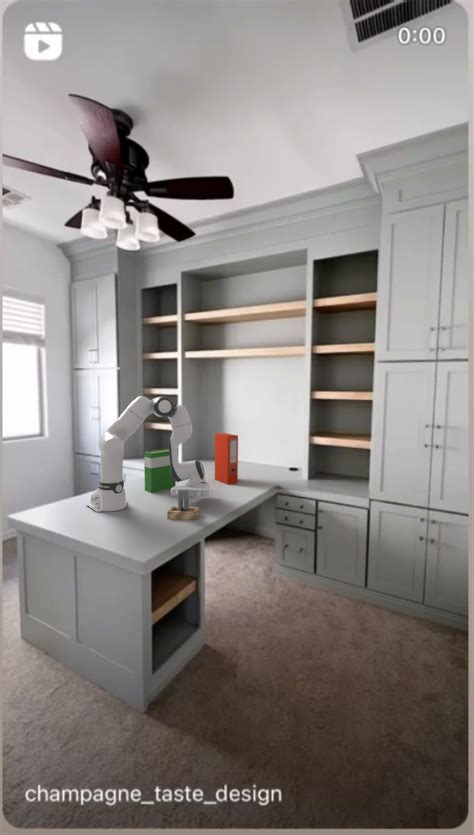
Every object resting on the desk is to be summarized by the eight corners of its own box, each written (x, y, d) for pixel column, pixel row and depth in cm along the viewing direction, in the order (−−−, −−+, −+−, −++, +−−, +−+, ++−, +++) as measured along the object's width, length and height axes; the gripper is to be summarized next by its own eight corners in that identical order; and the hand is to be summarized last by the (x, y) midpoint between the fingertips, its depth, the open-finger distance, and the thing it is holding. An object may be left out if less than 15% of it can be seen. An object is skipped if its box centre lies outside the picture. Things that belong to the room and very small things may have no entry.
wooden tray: (167, 518, 178) (167, 511, 178) (172, 513, 186) (171, 506, 186) (196, 519, 177) (196, 512, 176) (199, 514, 185) (199, 507, 184)
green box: (168, 485, 240) (168, 448, 238) (175, 487, 235) (175, 450, 233) (144, 490, 228) (144, 451, 226) (151, 492, 223) (150, 453, 221)
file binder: (224, 477, 261) (224, 432, 259) (237, 483, 246) (238, 435, 244) (214, 479, 257) (214, 433, 254) (227, 484, 242) (227, 436, 240)
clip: (178, 515, 180) (178, 491, 179) (180, 513, 183) (180, 489, 182) (186, 515, 179) (186, 491, 178) (188, 513, 183) (188, 489, 182)
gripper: (174, 481, 202) (166, 488, 188) (211, 482, 200) (206, 489, 186) (174, 493, 202) (167, 500, 189) (211, 494, 200) (206, 502, 187)
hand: (187, 495), depth 187 cm, fingers open, 8 cm apart
